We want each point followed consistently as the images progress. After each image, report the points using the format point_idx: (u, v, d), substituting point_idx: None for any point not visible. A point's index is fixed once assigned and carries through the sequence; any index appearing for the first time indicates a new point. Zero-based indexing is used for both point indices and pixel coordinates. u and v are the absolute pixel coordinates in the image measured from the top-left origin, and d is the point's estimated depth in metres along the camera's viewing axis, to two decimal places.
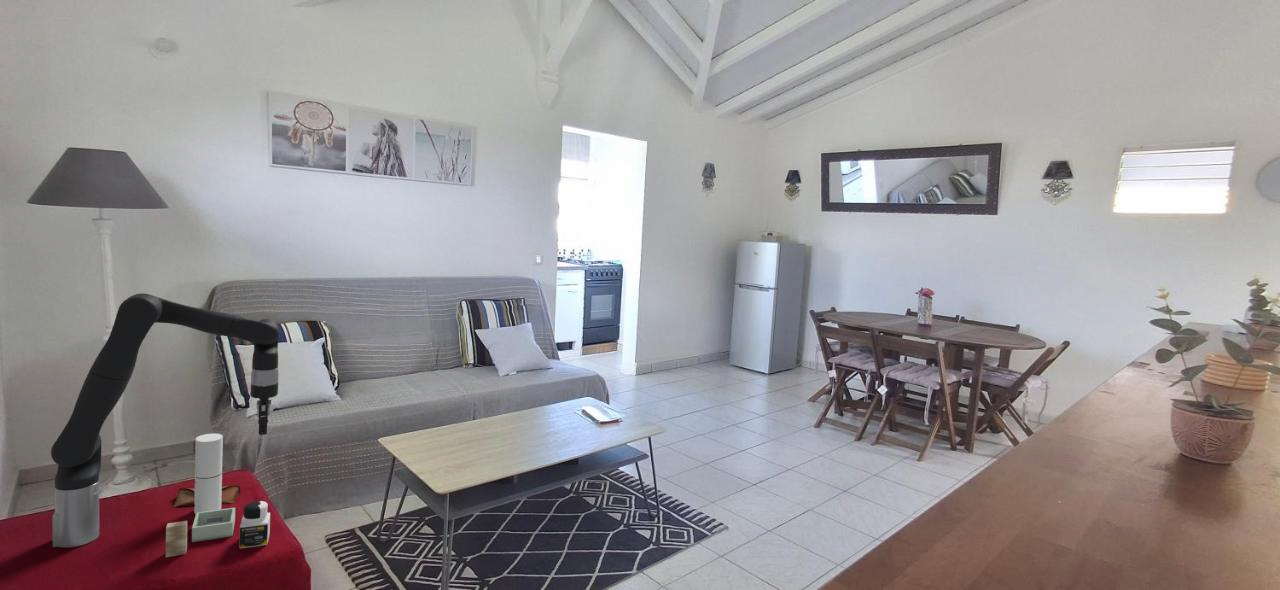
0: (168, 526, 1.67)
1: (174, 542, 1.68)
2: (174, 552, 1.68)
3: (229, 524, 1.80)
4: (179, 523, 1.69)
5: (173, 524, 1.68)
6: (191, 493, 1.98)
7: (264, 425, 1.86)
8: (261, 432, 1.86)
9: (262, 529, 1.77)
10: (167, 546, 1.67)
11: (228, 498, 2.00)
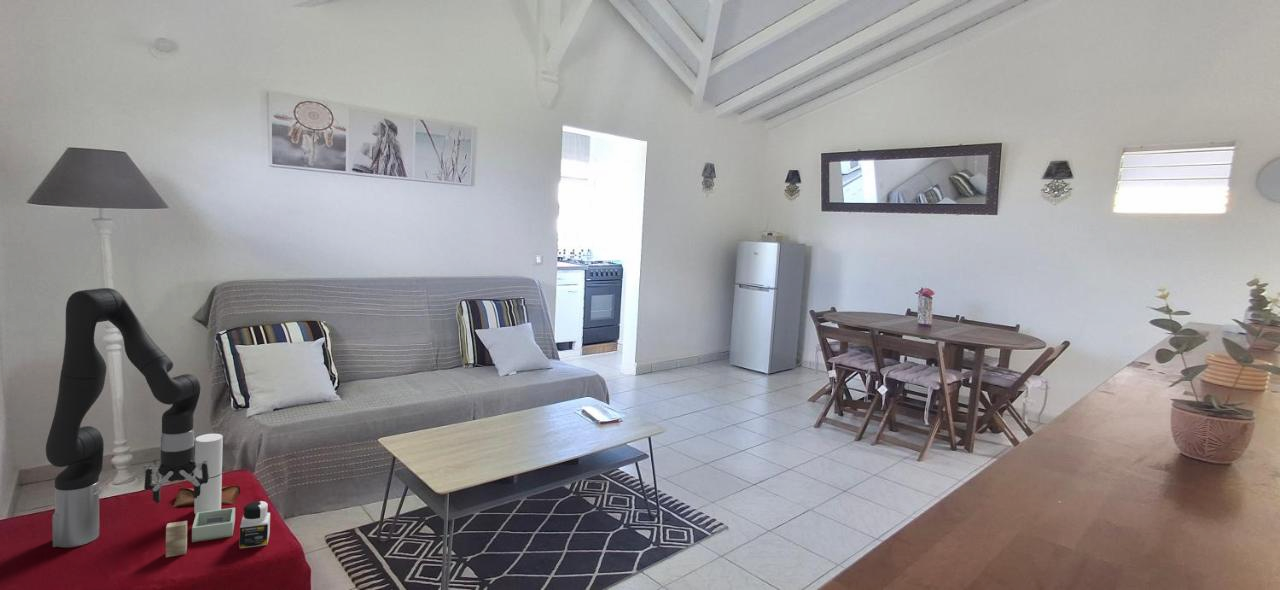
0: (168, 526, 1.67)
1: (174, 542, 1.68)
2: (174, 552, 1.68)
3: (229, 524, 1.80)
4: (179, 523, 1.69)
5: (173, 524, 1.68)
6: (191, 493, 1.98)
7: (200, 485, 1.70)
8: (199, 494, 1.70)
9: (262, 529, 1.77)
10: (167, 546, 1.67)
11: (227, 498, 1.99)
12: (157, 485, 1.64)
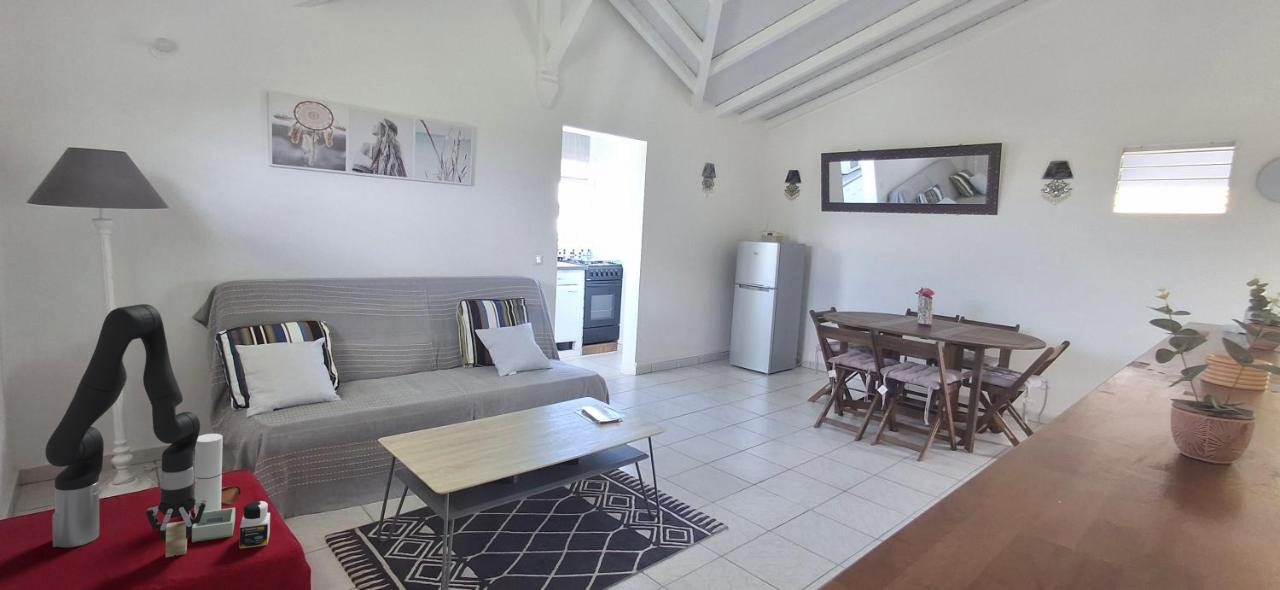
0: (168, 526, 1.67)
1: (174, 542, 1.68)
2: (174, 552, 1.68)
3: (229, 524, 1.80)
4: (179, 523, 1.69)
5: (173, 524, 1.68)
6: None
7: None
8: None
9: (262, 529, 1.77)
10: (167, 546, 1.67)
11: (226, 499, 1.99)
12: (163, 524, 1.66)
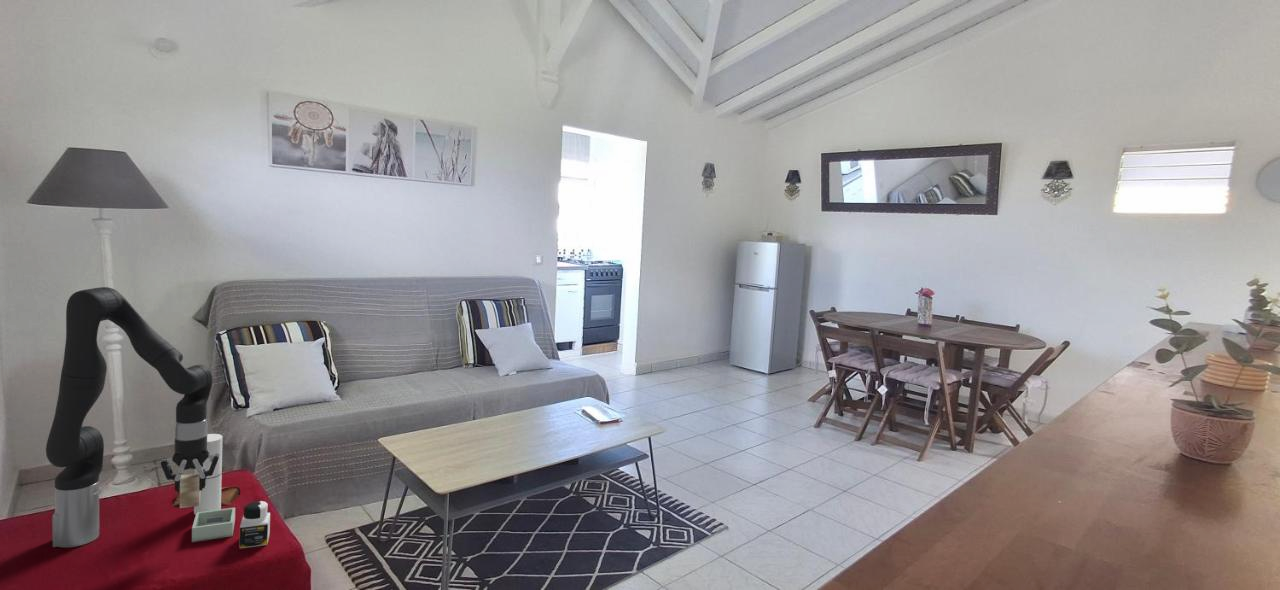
0: (182, 477, 1.70)
1: (188, 494, 1.70)
2: (188, 503, 1.71)
3: (229, 524, 1.80)
4: (193, 475, 1.72)
5: (187, 476, 1.71)
6: None
7: (205, 477, 1.73)
8: (204, 486, 1.73)
9: (262, 529, 1.77)
10: (181, 497, 1.70)
11: (225, 499, 1.99)
12: (177, 475, 1.69)
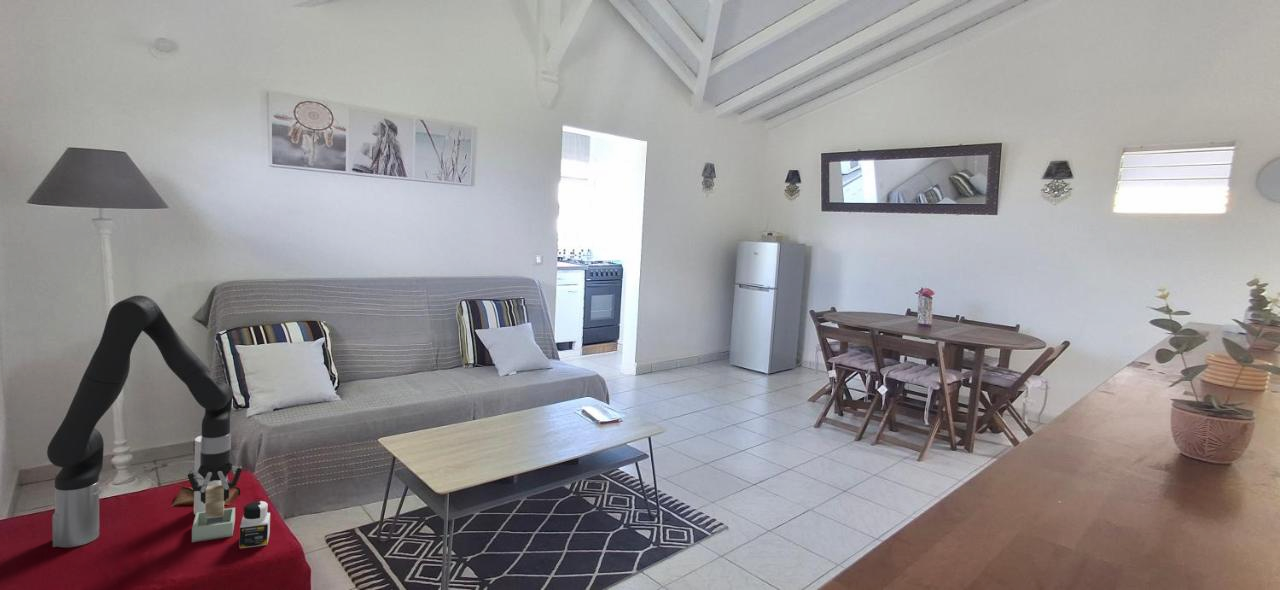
0: (207, 489, 1.79)
1: (213, 504, 1.80)
2: (213, 513, 1.80)
3: (229, 524, 1.80)
4: (217, 486, 1.81)
5: (212, 487, 1.80)
6: (191, 492, 1.98)
7: (229, 488, 1.83)
8: (228, 496, 1.82)
9: (262, 529, 1.77)
10: (206, 507, 1.79)
11: None
12: (203, 487, 1.78)
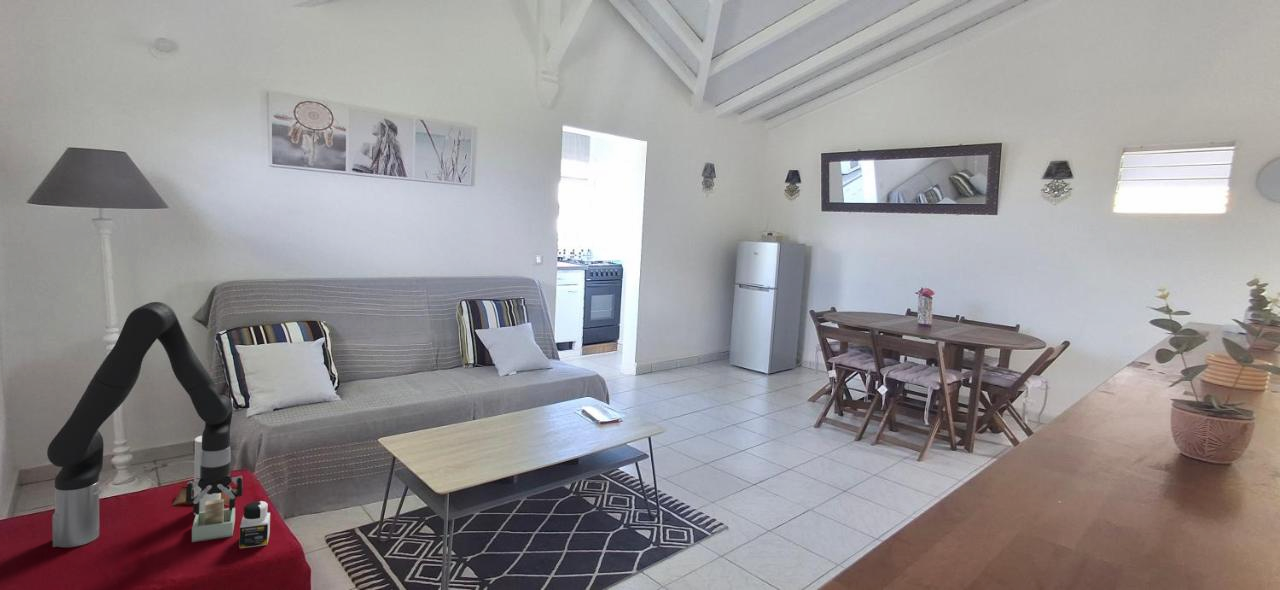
0: (207, 503, 1.80)
1: (212, 519, 1.81)
2: None
3: (229, 524, 1.80)
4: (217, 501, 1.82)
5: (211, 502, 1.81)
6: None
7: None
8: (234, 506, 1.84)
9: (262, 529, 1.77)
10: (206, 522, 1.80)
11: (224, 499, 1.98)
12: (197, 498, 1.78)
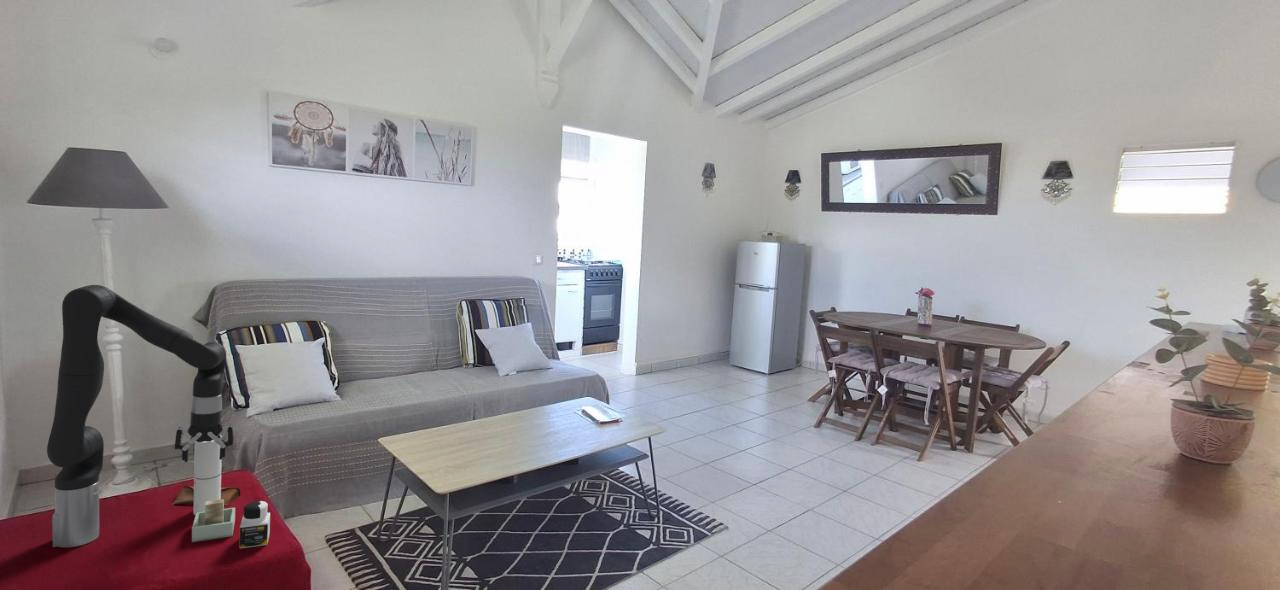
0: (207, 503, 1.80)
1: (212, 519, 1.81)
2: None
3: (229, 524, 1.80)
4: (217, 501, 1.82)
5: (211, 502, 1.81)
6: (192, 492, 1.99)
7: (225, 447, 1.82)
8: (224, 455, 1.81)
9: (262, 529, 1.77)
10: (206, 522, 1.80)
11: None
12: (186, 445, 1.75)
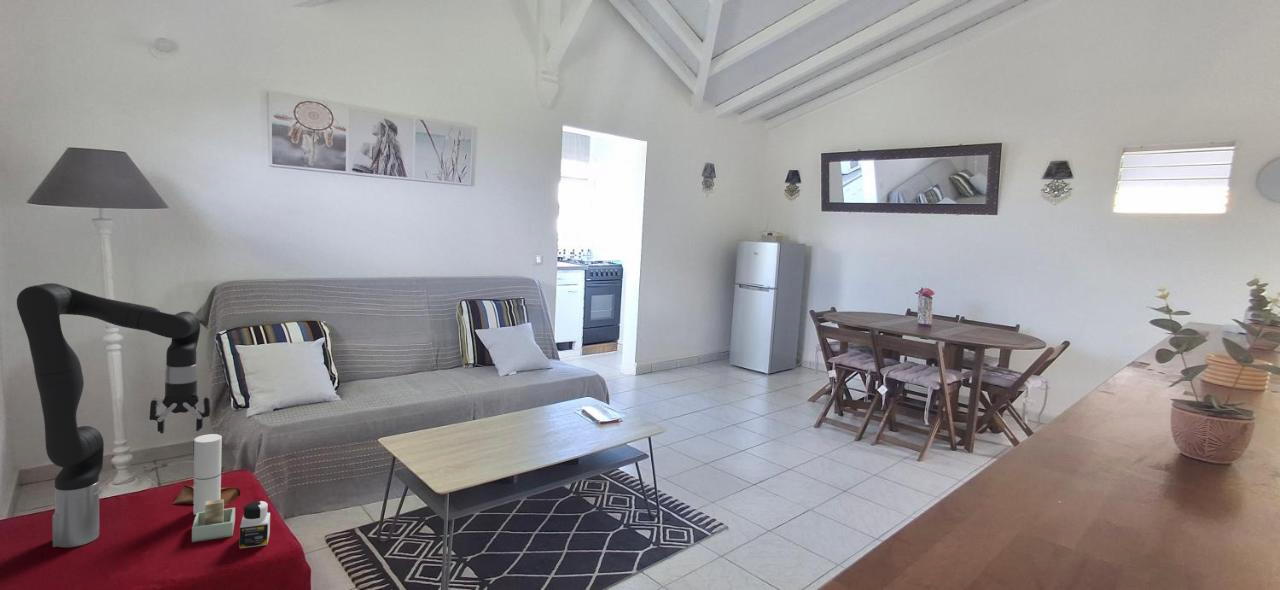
0: (207, 503, 1.80)
1: (212, 519, 1.81)
2: None
3: (229, 524, 1.80)
4: (217, 501, 1.82)
5: (211, 502, 1.81)
6: (192, 491, 1.99)
7: (202, 419, 1.79)
8: (201, 427, 1.79)
9: (262, 529, 1.77)
10: (206, 522, 1.80)
11: None
12: (161, 416, 1.73)
